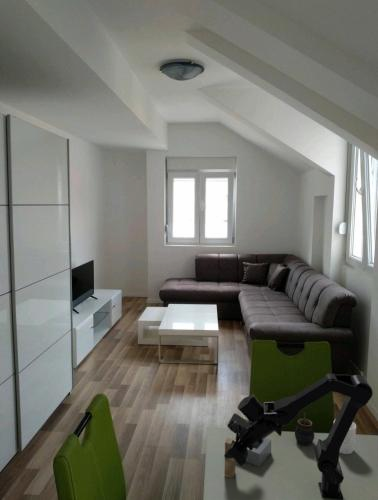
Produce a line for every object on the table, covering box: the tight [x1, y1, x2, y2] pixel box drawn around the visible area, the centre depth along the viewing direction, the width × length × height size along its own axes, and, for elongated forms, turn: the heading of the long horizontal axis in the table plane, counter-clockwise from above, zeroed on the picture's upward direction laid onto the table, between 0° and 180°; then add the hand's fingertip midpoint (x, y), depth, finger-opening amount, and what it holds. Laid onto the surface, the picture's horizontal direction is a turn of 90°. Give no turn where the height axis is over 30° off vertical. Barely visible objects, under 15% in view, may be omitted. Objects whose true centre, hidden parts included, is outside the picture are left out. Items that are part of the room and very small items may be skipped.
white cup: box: [333, 418, 357, 455], centre depth 149 cm, size 8×8×10 cm
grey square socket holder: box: [246, 437, 272, 468], centre depth 145 cm, size 10×10×5 cm
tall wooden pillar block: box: [223, 437, 237, 479], centre depth 134 cm, size 3×3×12 cm
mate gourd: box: [294, 411, 315, 446], centre depth 153 cm, size 7×8×10 cm
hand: (226, 453), depth 134 cm, fingers open, 3 cm apart
